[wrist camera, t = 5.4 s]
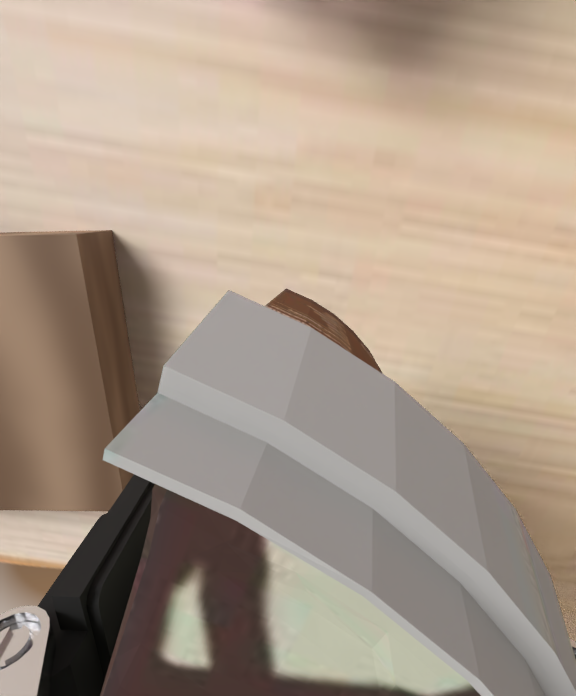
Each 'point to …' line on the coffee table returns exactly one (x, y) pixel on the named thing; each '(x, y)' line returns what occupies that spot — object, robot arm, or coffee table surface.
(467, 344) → the coffee table surface
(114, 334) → the walnut block
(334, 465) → the food container
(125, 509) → the robot arm
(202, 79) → the coffee table surface
